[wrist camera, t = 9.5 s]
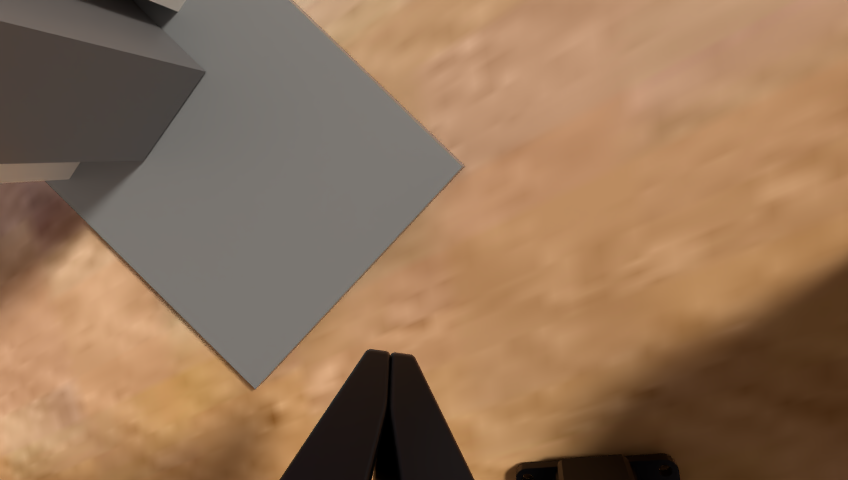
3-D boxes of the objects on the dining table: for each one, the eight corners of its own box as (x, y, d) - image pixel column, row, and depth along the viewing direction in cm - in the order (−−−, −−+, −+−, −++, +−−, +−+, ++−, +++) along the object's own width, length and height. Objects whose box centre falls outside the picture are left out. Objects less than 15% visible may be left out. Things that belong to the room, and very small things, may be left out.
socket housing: (465, 166, 20) (419, 177, 12) (263, 381, 24) (117, 509, 15) (134, -152, 20) (-144, -366, 12) (-13, 108, 24) (-304, 85, 16)
